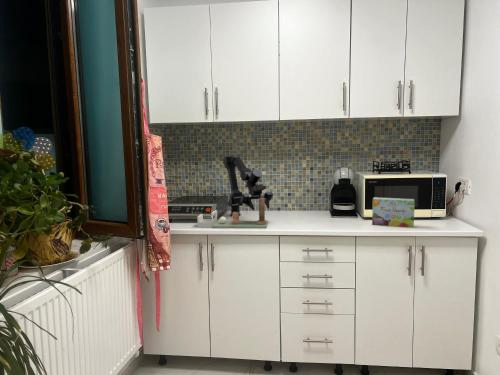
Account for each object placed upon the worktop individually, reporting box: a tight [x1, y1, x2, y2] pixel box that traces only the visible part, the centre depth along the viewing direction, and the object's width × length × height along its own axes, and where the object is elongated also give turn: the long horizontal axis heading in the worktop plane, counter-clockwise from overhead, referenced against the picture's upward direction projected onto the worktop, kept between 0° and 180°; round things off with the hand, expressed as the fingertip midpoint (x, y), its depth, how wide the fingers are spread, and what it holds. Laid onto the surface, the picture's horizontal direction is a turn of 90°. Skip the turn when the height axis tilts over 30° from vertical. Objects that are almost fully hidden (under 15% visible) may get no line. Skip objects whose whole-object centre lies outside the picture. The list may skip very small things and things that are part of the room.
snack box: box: [371, 196, 415, 228], centre depth 199 cm, size 21×6×15 cm, turn 66°
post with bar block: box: [231, 198, 268, 224], centre depth 206 cm, size 5×20×14 cm, turn 83°
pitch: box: [196, 209, 269, 229], centre depth 208 cm, size 14×39×8 cm, turn 83°
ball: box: [218, 216, 227, 224], centre depth 208 cm, size 4×4×4 cm
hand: (261, 209), depth 206 cm, fingers open, 9 cm apart
